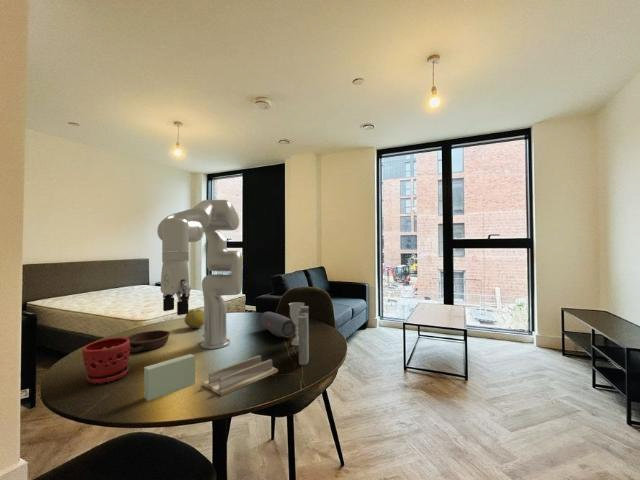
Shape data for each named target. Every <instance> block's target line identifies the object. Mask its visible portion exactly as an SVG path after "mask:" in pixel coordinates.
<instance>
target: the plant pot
mask: <svg viewBox="0 0 640 480" xmlns="http://www.w3.org/2000/svg"><path fill="white" fill-rule="evenodd" d="M103 348H104V349H103ZM130 354H131V353H130V340H129V339H128V338H127V337H110V338H105V339H101V340H97V341H93V342H91V343H88V344H86V345H85V346H84V347H82V361H83V365H84V368H85V371H86V372H87V374H88V375H87V377H86V379H87V381H88V382H89V383H90V384H96V383H99V384H106V383H105V382H107V383H111V382H110V381H112V382H114V381H116V379H117V380H119V379H121V378H123V377H124V376H126V374H127V373H128V372H129V366H128V365H127V364H128V363H129V360H130ZM113 380H114V381H113Z"/></svg>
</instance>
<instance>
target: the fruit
mask: <svg viewBox="0 0 640 480" xmlns="http://www.w3.org/2000/svg"><path fill="white" fill-rule="evenodd" d="M184 323H185V325H186V326H187V327H189V328H191V329H199V328H201V327H203V326H204V310H202V309H199V308H198V309H197V308H196V309H191V310H188V314H185V317H184Z"/></svg>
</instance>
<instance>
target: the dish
mask: <svg viewBox="0 0 640 480" xmlns="http://www.w3.org/2000/svg"><path fill="white" fill-rule="evenodd" d="M170 335H171V332H170V331H168V330H161V329H160V330H157V329H156V330H149V331H142V332H138V333H134V334H131V335H129V336H127V337H126V338H128V339H129V340H130V352H131V353H137V352H141V350H144V351H151V350H156V349H158V347H159V348H161V347H163V346H165V345H166V344H167V342H168V340H169V336H170ZM150 349H151V350H150Z"/></svg>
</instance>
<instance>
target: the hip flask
mask: <svg viewBox="0 0 640 480" xmlns="http://www.w3.org/2000/svg"><path fill="white" fill-rule="evenodd" d="M309 308H310V307H309V305H304V306H301V307H300V309H299V317H298V321H299V324H298V328H299V329H298V332H299V333H298V337H299V345H298V364H299V365H300V366H306V365H308V363H309V360H310V350H309V349H310V344H309V343H310V341H309V339H310V335H309V333H310V332H309V331H310V330H309Z"/></svg>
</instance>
